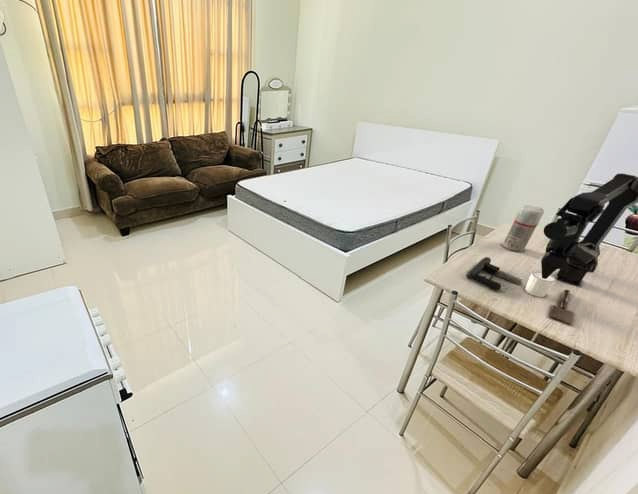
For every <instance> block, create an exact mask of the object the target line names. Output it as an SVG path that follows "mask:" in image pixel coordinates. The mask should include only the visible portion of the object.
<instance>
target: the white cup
mask: <svg viewBox="0 0 638 494" xmlns="http://www.w3.org/2000/svg"><path fill="white" fill-rule="evenodd" d="M556 282H557V278H556V277H554V276H553V275H552V274H551V275H550V276H549V277H548V278H547V279H544V278H542V271H537V270H536V271H532V272H531V274H530V276H529V278H528V281H527V283H526V285H525V288H524V289H525V292H527V293H528V294H530V295H532V296H534V297H539V298H542V297H546V295H547V294H548V292H549V291H551V290H550V289H551V288H552V287H553V286H554V284H555V283H556Z"/></svg>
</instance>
